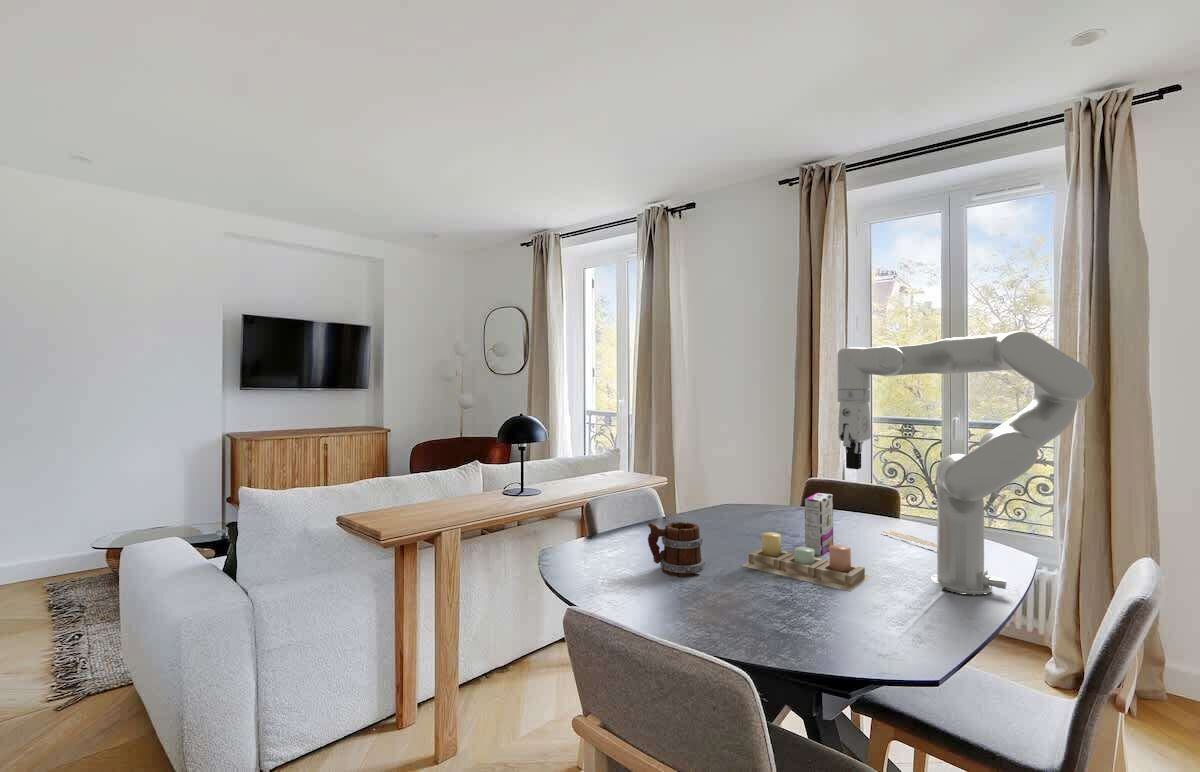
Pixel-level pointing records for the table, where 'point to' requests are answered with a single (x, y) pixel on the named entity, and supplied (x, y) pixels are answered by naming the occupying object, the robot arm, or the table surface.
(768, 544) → the mustard button
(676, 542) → the mug
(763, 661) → the table surface
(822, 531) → the candy bar box
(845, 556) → the salmon orange rounded piece
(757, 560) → the wooden compartment tray
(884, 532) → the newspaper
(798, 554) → the sage button
